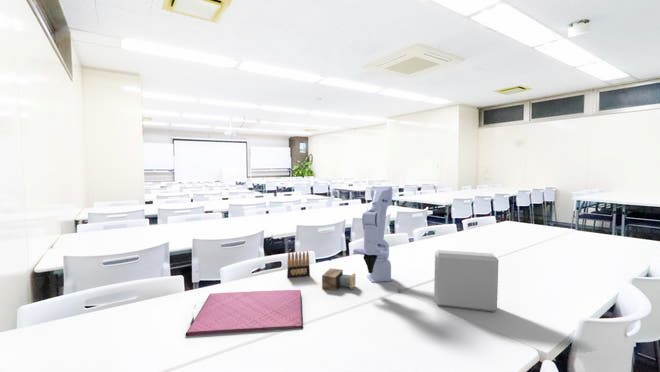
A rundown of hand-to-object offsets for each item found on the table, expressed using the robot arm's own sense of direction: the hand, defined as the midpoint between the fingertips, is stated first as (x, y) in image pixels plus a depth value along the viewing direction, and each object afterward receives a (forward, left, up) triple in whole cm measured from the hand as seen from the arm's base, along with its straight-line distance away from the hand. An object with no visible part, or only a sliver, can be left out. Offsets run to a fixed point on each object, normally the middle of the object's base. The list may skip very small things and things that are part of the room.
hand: (370, 272), depth 127 cm
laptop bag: (+50, +10, -9) cm, 52 cm away
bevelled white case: (-30, +19, -8) cm, 37 cm away
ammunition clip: (+29, -23, -8) cm, 37 cm away
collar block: (+15, -9, -8) cm, 19 cm away
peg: (+10, -6, -8) cm, 14 cm away
